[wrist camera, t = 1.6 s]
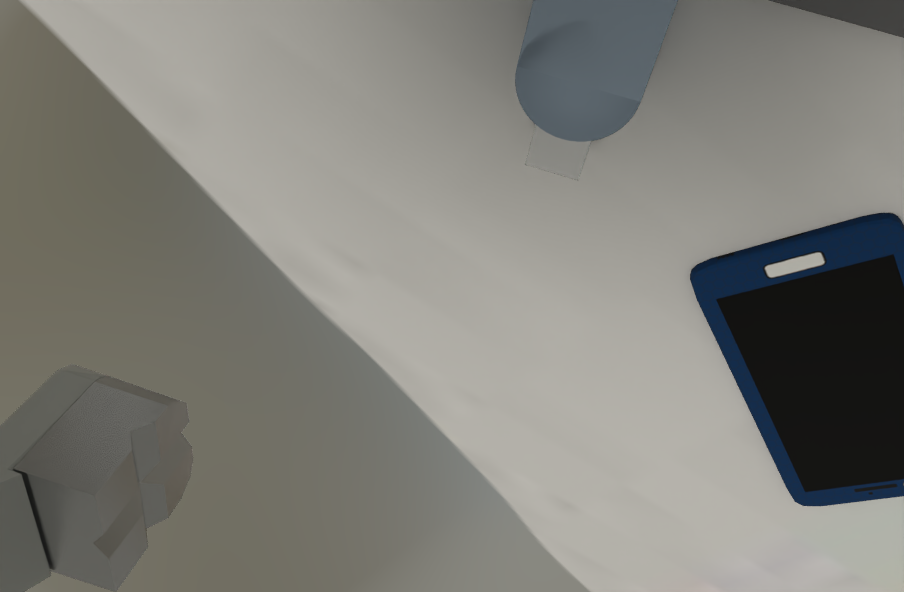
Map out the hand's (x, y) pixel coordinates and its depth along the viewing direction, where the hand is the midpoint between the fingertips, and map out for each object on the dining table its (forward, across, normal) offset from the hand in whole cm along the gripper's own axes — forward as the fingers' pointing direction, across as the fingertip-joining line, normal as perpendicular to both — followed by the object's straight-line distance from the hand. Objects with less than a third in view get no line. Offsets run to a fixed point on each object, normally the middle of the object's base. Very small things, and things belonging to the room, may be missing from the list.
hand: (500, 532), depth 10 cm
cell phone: (+22, -11, +12) cm, 27 cm away
